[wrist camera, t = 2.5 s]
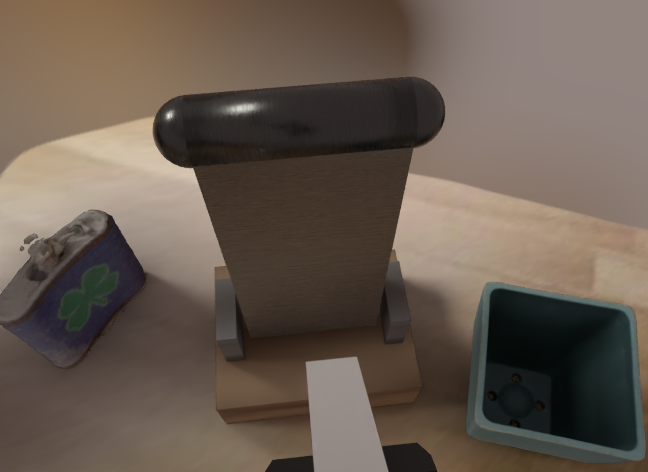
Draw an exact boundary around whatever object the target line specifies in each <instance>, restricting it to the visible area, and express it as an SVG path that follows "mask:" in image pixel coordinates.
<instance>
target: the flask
mask: <svg viewBox="0 0 648 472" xmlns="http://www.w3.org/2000/svg"><path fill="white" fill-rule="evenodd" d="M35 238H38V236H37V234H32V235H30V236H28V237H27V238H25V240H24V244H30V242H31V241H33V240H34V239H35ZM43 239H44V238H42V239H40V240H38V241H36V242H35V244H32V245H31V246H30V247H29V249H28V253H29V254H30V256H31V257H30V259H29V260H28V261H27V262H26V263H25V264H24V266H23V267H22V268H21V269H20V270H19V271H18V272H17V274H16V275H15V277H14V278H13V279H12V281H11V282H10V283H9V284H8V286H7V287H6V288H5V289H4V290H3V292H2V294H1V295H0V324H1V325H2V326H3V327H4V328H6V329H8V330H9V331H11V332H12V333H14V334H15V335H17V336H18V337H19V338H20V339H22V340H23V341H25V342H26V343H28V344H29V345H30V346H31V347H33V348H34V349H35V350H36V351H37V352H39V353H40V354H42V355H43V356H44V357H46V358H47V359H48V360H50V361H51V362H52V363H53V364H55V365H56V366H58V367H62V368H67V369H68V368H70V367H72V366H74V365H76V364H77V363H78V362H80V361H82V359H83V358H84V357H85V356H87V355H88V354H89V353H90V351H91V350H90V348H91V347H92V345H93V344H94V343H95V342H96V341H97V339H99V338H100V337H101V336H103V335H104V334H105V332H106V331H107V330H109V328H110V327H111V326H112V325H113V322H114V321H113V320H114V319H115V317H116V315H117V313H119V312H120V311H124V308H125V306H126V304H127V303H128V302H129V301H130V300H132V299H134V297H135V296H136V295H137V294H138V293H139V292H140V291H141V290H142V289H143V288H144V287H145V285H146V275H147V273H144V271H143V268H142V266H141V265H140V263H139V261H138V260H137V258H136V257H135V255H134V253H133V251H132V249H131V248H130V247H129V245H128V244H127V242H126V240H125V238H124V236H123V235H122V233H121V231H120V230H119V228H118V226H117V225H116V224H115V221H114V219H113V217H112V216H111V215H109V214H107V213H105V212H102V211H100V210H89V211H87V212H84V213H82V214H81V215H79V216H78V217H77V218H76V219H74V220H73V221H72V222H71V223H70V224H68V225H66V226H65V227H63V228H62V229H61V230H59V231H58V232H57V233H56V234H55V235H53V236H52V237H50V238H48V239H45V240H44V241H43ZM20 250H21V251H23V250H24V247H23V246H21V248H20Z"/></svg>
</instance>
